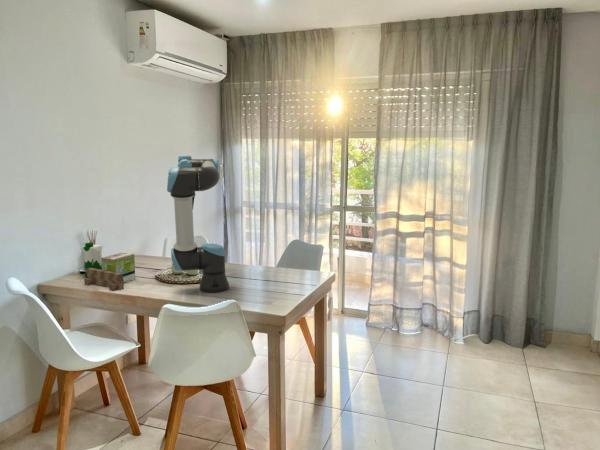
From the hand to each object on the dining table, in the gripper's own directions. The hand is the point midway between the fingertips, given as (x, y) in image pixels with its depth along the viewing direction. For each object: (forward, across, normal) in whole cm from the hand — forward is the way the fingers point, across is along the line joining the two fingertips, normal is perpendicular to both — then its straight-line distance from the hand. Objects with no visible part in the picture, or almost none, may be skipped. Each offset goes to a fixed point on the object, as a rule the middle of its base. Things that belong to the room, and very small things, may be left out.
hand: (187, 222), depth 277 cm
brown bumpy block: (+29, +46, -18) cm, 58 cm away
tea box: (+30, +36, -18) cm, 50 cm away
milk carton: (+30, +36, -39) cm, 61 cm away
